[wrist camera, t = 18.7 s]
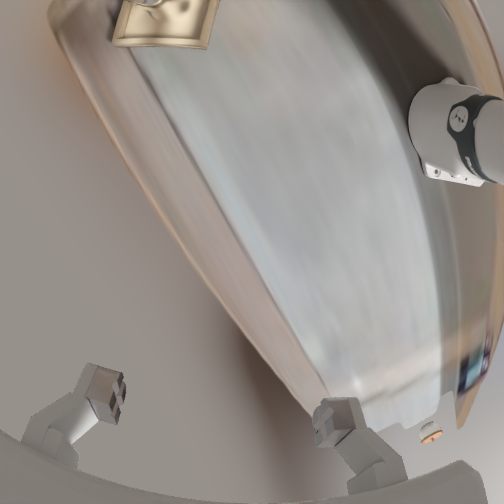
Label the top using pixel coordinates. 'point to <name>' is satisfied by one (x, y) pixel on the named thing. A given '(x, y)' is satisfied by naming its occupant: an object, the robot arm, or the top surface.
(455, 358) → the top surface
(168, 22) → the beer glass
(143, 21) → the oak tray
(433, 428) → the lidded jar
